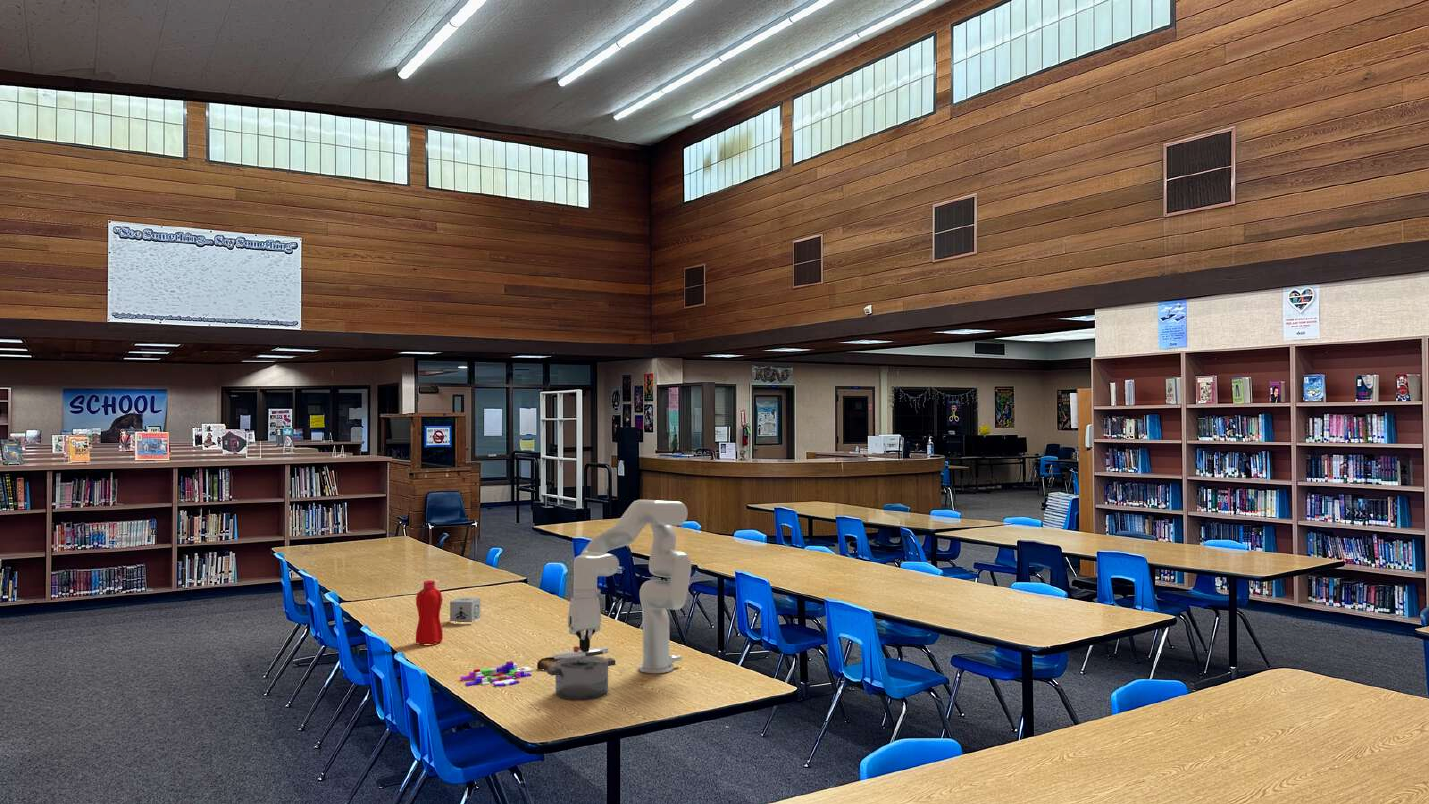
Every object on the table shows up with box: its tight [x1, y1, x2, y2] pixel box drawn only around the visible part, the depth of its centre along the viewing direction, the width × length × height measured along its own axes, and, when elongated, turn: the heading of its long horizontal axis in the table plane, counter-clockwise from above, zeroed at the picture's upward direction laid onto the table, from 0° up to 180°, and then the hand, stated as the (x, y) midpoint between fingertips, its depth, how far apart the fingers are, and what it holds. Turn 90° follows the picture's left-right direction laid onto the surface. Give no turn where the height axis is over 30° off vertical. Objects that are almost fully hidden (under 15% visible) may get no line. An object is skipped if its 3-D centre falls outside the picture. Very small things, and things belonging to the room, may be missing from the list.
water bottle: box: [415, 580, 444, 645], centre depth 363 cm, size 9×11×25 cm
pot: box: [546, 655, 616, 702], centre depth 295 cm, size 23×18×10 cm
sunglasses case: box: [536, 655, 560, 670], centre depth 328 cm, size 18×7×7 cm
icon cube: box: [449, 596, 482, 622], centre depth 403 cm, size 10×10×10 cm
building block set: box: [460, 660, 534, 687], centre depth 312 cm, size 25×20×4 cm
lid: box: [553, 645, 609, 659], centre depth 294 cm, size 18×20×3 cm
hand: (584, 650), depth 292 cm, fingers closed
